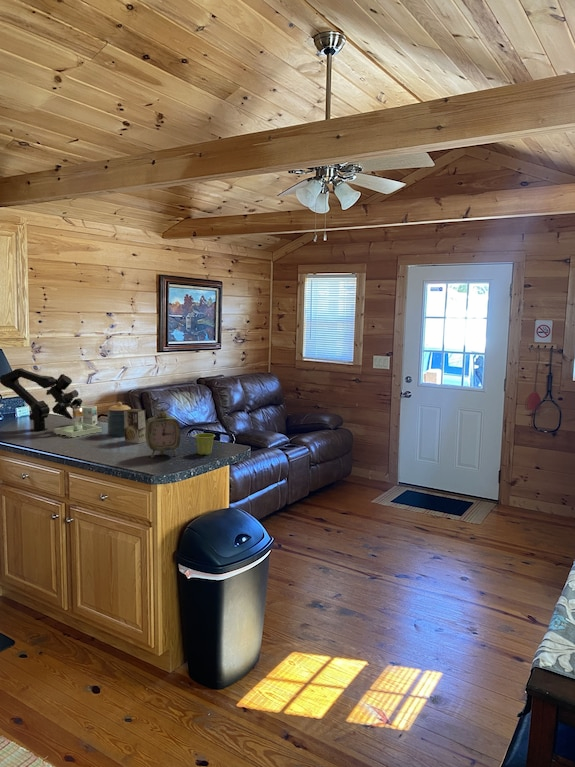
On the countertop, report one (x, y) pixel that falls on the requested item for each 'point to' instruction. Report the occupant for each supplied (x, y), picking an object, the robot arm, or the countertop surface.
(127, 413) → the coffee box
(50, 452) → the countertop surface
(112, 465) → the countertop surface
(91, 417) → the light bulb box
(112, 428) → the canister
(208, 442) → the plant pot
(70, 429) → the cell tray
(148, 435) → the tabletop clock
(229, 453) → the countertop surface
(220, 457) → the countertop surface
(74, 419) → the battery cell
